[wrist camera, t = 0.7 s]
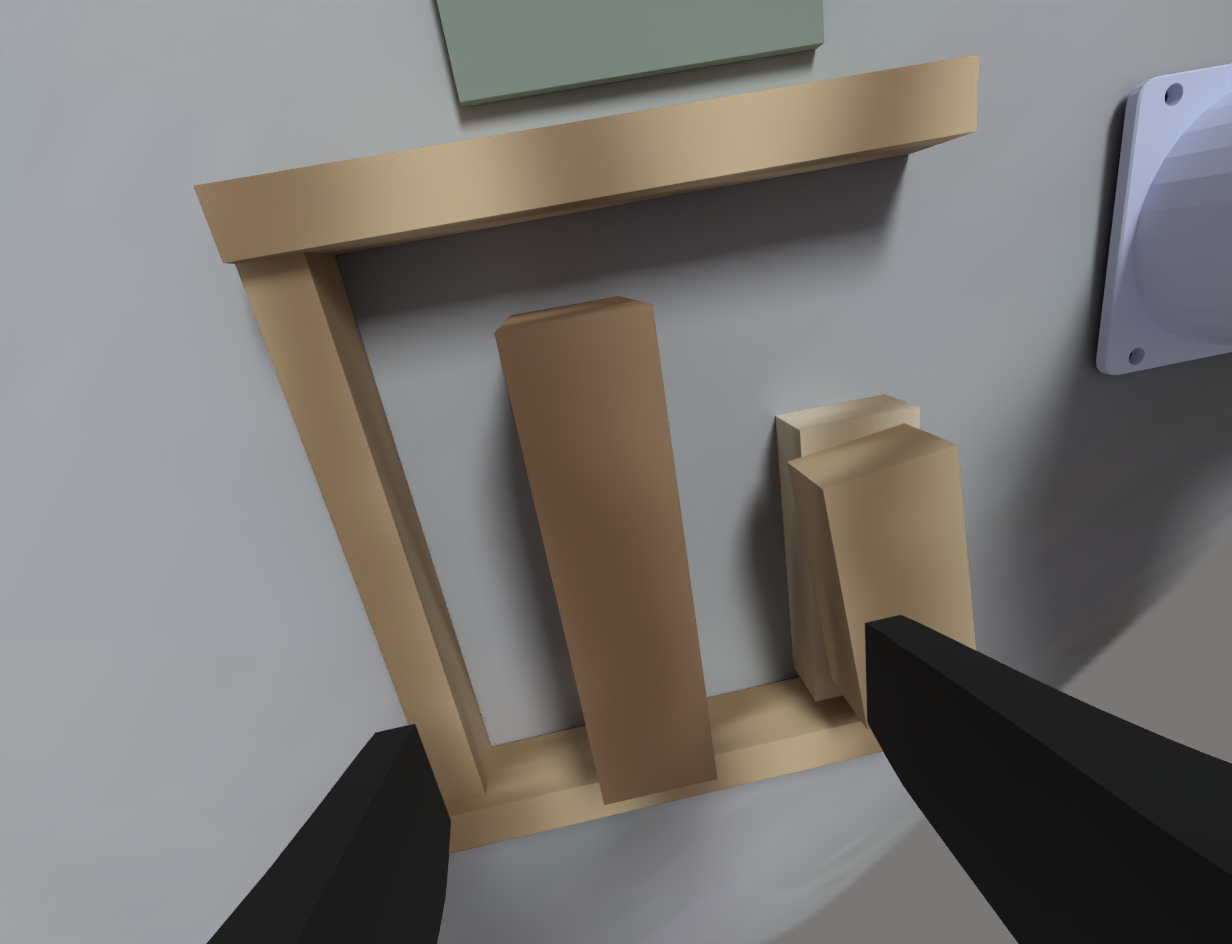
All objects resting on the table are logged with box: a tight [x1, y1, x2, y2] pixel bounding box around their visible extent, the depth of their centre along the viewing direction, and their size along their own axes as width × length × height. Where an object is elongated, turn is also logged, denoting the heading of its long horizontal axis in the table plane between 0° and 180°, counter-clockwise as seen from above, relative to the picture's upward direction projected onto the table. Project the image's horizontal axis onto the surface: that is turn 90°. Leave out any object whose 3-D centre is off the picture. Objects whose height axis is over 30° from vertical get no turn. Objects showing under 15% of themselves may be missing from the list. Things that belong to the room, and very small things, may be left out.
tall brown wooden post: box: [495, 296, 717, 805], centre depth 15 cm, size 3×12×6 cm, turn 9°
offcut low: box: [775, 395, 920, 701], centre depth 18 cm, size 4×10×2 cm, turn 10°
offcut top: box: [787, 423, 976, 730], centre depth 16 cm, size 4×8×2 cm, turn 17°
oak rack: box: [194, 55, 979, 854], centre depth 16 cm, size 17×20×2 cm
